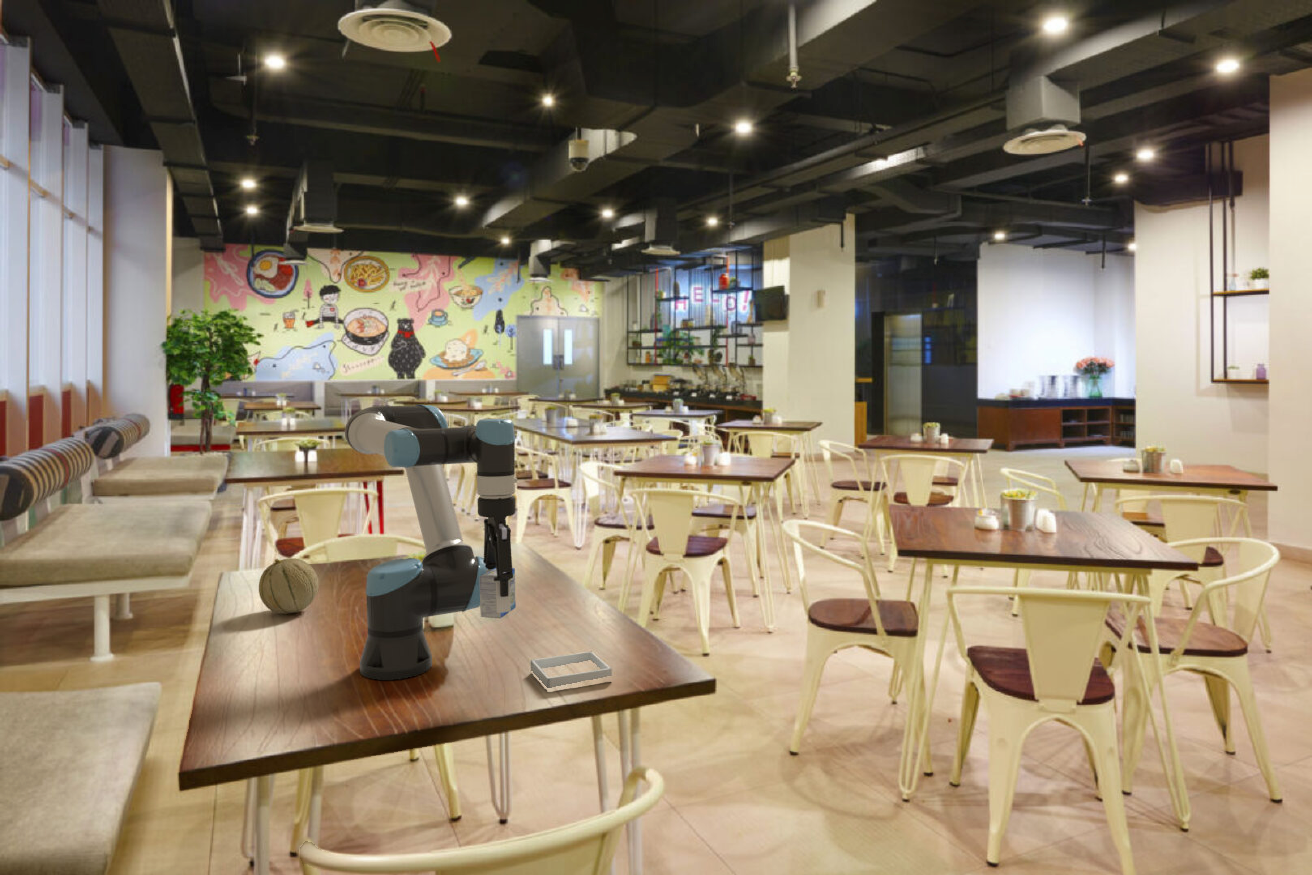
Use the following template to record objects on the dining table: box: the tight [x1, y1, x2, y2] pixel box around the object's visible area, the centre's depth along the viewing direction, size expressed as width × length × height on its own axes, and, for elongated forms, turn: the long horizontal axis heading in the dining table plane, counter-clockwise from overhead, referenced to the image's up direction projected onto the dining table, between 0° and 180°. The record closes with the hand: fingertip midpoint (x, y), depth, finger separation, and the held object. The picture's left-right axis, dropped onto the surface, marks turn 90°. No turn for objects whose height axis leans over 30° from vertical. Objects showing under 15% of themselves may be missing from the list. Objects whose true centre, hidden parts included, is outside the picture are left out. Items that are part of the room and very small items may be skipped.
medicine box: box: [479, 567, 517, 619], centre depth 174 cm, size 8×4×9 cm, turn 166°
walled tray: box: [530, 650, 613, 688], centre depth 182 cm, size 14×12×3 cm
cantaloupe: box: [258, 557, 319, 615], centre depth 229 cm, size 15×15×15 cm
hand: (498, 605), depth 174 cm, fingers closed on medicine box, 9 cm apart
